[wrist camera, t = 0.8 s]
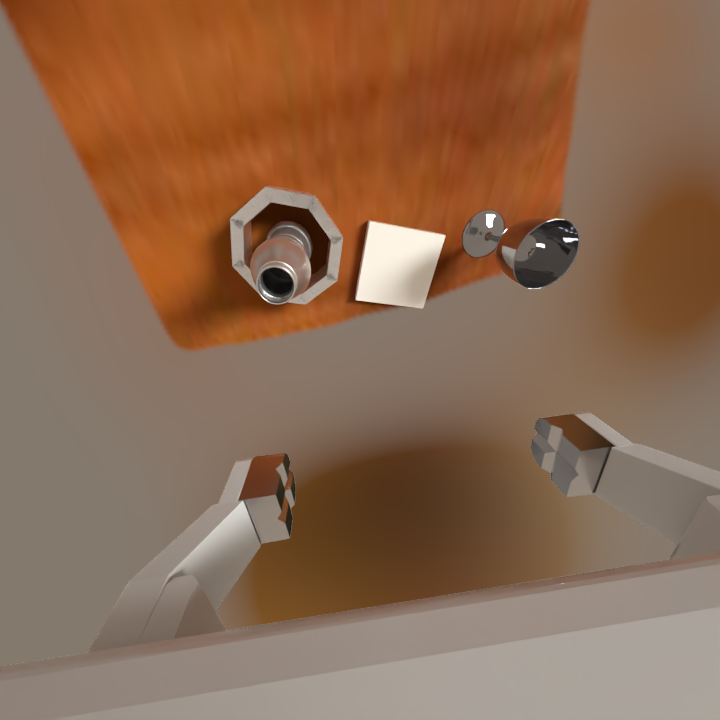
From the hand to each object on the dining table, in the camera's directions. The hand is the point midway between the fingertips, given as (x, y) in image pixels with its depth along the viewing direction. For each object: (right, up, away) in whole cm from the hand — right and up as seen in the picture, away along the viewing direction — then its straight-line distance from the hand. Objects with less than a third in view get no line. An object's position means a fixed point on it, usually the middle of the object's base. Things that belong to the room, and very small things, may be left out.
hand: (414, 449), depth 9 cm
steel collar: (-12, +20, +34) cm, 41 cm away
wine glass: (+18, +23, +37) cm, 47 cm away
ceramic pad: (+4, +18, +38) cm, 42 cm away
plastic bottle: (-12, +21, +34) cm, 41 cm away
